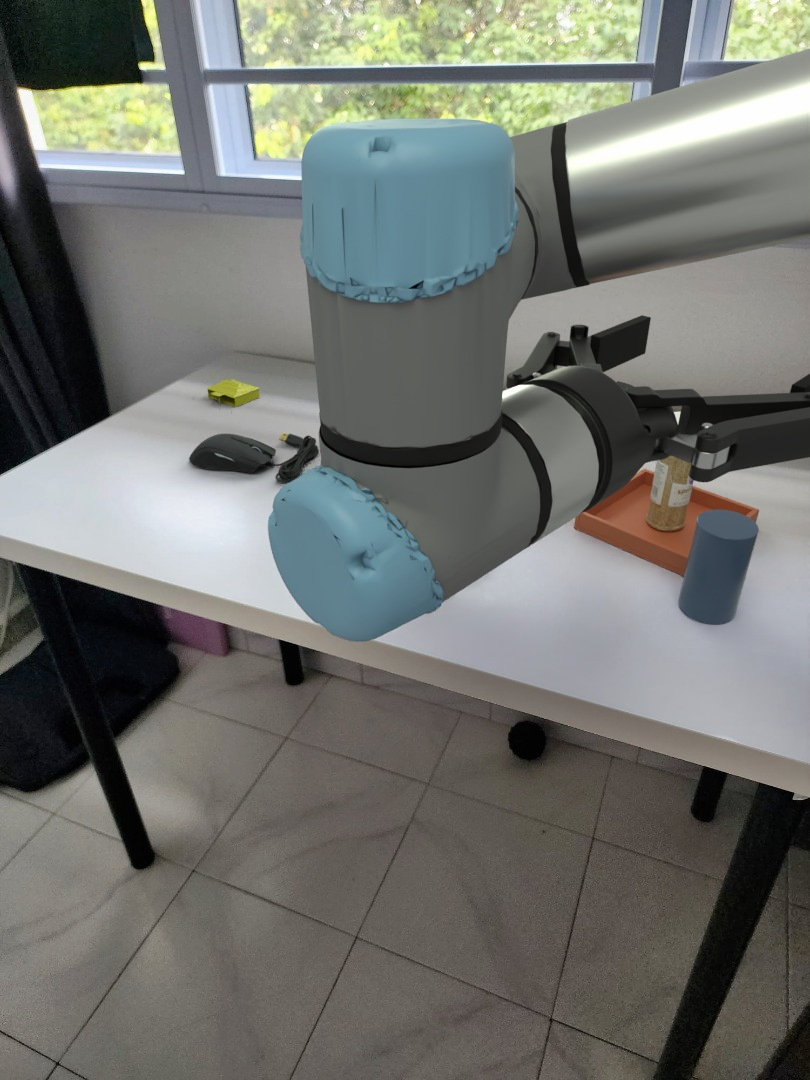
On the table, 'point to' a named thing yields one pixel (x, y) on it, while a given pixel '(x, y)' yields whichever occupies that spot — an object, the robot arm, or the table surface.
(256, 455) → the computer mouse
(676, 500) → the spice jar
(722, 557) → the blue can
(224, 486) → the table surface
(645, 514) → the tray
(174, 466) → the table surface
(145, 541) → the table surface
